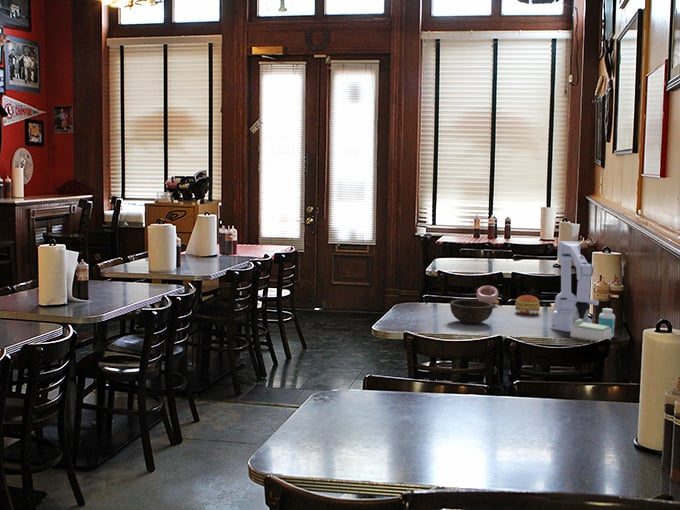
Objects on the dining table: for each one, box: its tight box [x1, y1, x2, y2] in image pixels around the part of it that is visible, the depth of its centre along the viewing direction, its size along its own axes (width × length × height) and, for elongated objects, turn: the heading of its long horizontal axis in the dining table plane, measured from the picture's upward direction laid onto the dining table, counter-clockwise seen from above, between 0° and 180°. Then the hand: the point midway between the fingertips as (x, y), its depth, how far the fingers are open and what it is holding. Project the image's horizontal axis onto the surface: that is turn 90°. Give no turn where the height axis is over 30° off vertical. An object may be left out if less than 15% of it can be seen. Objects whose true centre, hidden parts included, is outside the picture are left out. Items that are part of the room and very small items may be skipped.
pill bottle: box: [598, 307, 616, 339], centre depth 405 cm, size 8×7×14 cm
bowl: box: [449, 299, 494, 325], centre depth 428 cm, size 22×22×10 cm
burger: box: [514, 294, 541, 315], centre depth 458 cm, size 13×14×10 cm
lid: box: [573, 318, 609, 331], centre depth 399 cm, size 14×9×2 cm, turn 53°
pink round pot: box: [476, 284, 499, 305], centre depth 480 cm, size 12×12×12 cm
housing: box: [569, 324, 612, 342], centre depth 399 cm, size 16×10×6 cm, turn 53°
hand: (581, 318), depth 394 cm, fingers closed
